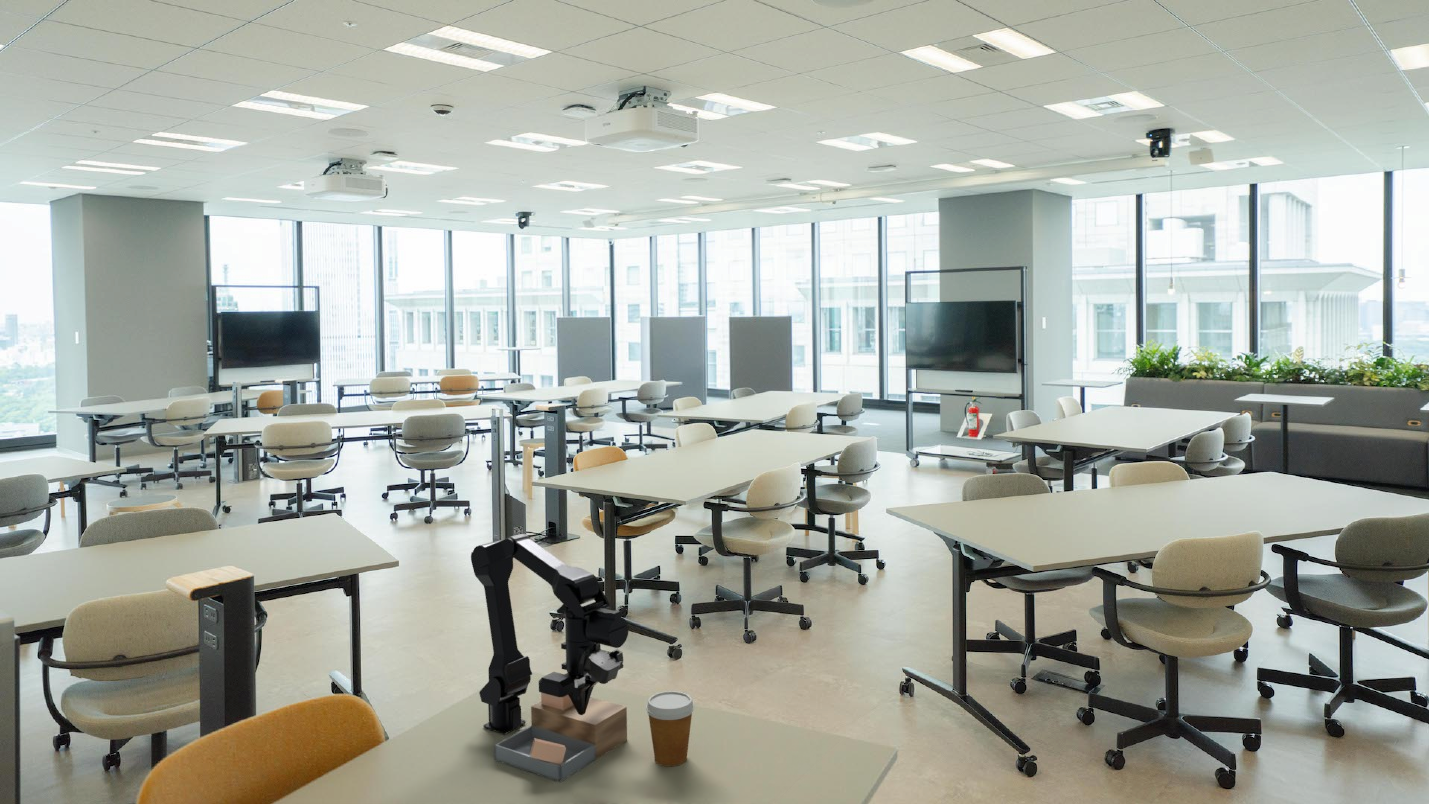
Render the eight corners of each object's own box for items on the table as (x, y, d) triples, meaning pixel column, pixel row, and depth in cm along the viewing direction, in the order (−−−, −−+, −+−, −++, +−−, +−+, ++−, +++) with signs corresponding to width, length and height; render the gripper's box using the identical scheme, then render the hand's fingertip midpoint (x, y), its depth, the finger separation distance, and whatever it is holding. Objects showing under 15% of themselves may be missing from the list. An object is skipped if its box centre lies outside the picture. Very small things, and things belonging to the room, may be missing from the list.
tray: (494, 760, 178) (494, 745, 178) (531, 739, 187) (531, 725, 187) (560, 782, 169) (559, 766, 169) (596, 759, 178) (595, 744, 178)
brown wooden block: (531, 739, 187) (531, 706, 186) (564, 721, 195) (563, 690, 195) (596, 759, 178) (595, 725, 177) (627, 739, 186) (626, 706, 186)
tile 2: (564, 745, 177) (559, 761, 176) (534, 738, 177) (529, 754, 176) (566, 748, 172) (561, 764, 171) (535, 740, 171) (530, 757, 170)
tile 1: (541, 704, 187) (541, 690, 187) (560, 694, 193) (560, 680, 192) (563, 710, 184) (563, 696, 184) (582, 700, 189) (582, 686, 189)
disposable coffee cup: (688, 772, 172) (688, 711, 171) (640, 768, 174) (639, 707, 173) (699, 750, 182) (699, 692, 181) (653, 746, 183) (653, 688, 182)
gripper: (581, 660, 167) (582, 742, 168) (641, 630, 182) (642, 706, 184) (535, 649, 172) (537, 728, 174) (597, 621, 188) (599, 694, 189)
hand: (581, 714), depth 180 cm, fingers closed
